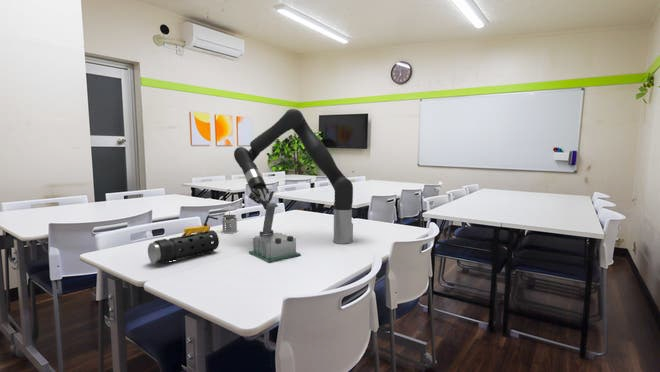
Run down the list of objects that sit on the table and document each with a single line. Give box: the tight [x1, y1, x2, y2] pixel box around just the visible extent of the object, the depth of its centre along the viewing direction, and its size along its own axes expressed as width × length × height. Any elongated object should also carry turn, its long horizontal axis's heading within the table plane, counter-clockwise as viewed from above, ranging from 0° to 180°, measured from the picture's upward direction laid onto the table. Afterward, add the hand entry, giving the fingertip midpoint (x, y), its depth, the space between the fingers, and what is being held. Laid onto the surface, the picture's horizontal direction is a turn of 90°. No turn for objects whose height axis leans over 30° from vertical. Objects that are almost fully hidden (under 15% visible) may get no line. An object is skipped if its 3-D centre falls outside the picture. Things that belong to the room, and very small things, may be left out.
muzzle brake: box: [147, 229, 220, 265], centre depth 153 cm, size 10×28×10 cm, turn 142°
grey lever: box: [262, 202, 279, 235], centre depth 161 cm, size 4×16×3 cm
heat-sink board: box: [248, 229, 302, 264], centre depth 159 cm, size 16×18×10 cm
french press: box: [219, 188, 239, 235], centre depth 201 cm, size 10×12×25 cm
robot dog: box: [181, 215, 219, 236], centre depth 179 cm, size 6×18×13 cm, turn 127°
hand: (268, 209), depth 162 cm, fingers closed
